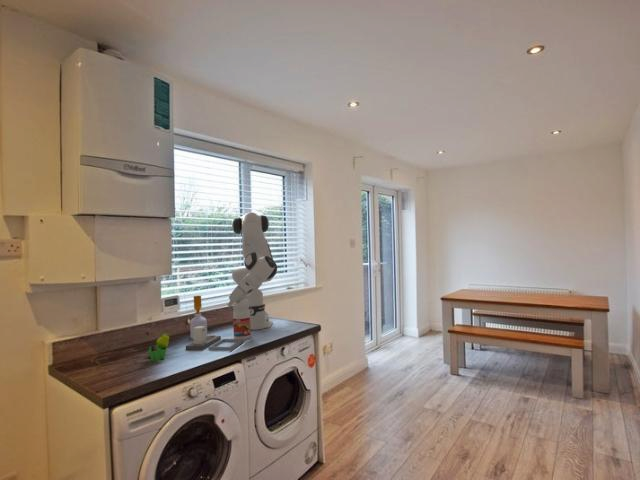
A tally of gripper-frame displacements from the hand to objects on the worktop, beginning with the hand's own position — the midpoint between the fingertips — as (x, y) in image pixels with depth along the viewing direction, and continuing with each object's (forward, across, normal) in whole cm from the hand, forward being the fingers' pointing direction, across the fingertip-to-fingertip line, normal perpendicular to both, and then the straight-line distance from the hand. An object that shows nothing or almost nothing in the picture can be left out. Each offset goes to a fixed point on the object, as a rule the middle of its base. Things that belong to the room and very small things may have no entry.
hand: (232, 304), depth 184 cm
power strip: (+29, -4, +2) cm, 30 cm away
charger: (+29, 0, +2) cm, 29 cm away
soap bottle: (+38, -20, -6) cm, 43 cm away
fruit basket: (+38, +16, -6) cm, 42 cm away
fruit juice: (+19, -19, +13) cm, 30 cm away
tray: (+20, -2, +12) cm, 23 cm away
